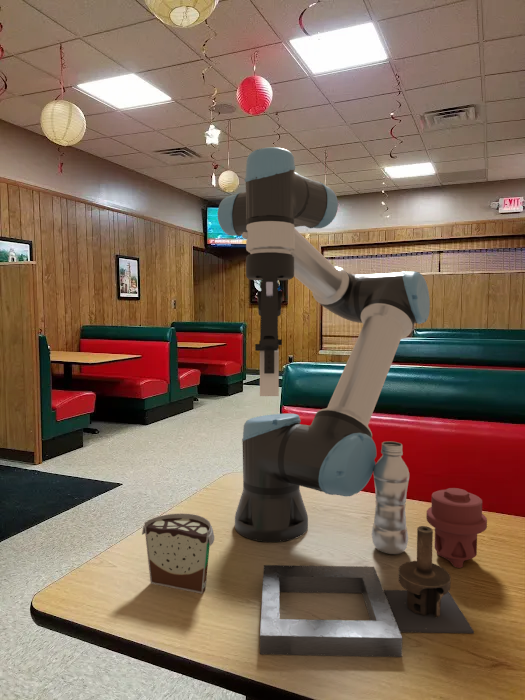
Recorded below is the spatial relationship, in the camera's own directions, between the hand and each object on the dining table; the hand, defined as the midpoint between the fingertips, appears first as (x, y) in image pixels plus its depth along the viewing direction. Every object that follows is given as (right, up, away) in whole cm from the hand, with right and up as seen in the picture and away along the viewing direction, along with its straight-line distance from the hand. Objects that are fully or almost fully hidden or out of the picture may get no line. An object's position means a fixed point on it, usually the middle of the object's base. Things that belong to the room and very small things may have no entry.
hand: (269, 389), depth 78 cm
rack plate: (+8, -32, -6) cm, 34 cm away
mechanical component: (+33, -31, +10) cm, 47 cm away
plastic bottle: (+22, -31, +13) cm, 41 cm away
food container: (-14, -32, +3) cm, 35 cm away
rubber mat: (+23, -32, -6) cm, 40 cm away
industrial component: (+23, -32, -6) cm, 40 cm away
